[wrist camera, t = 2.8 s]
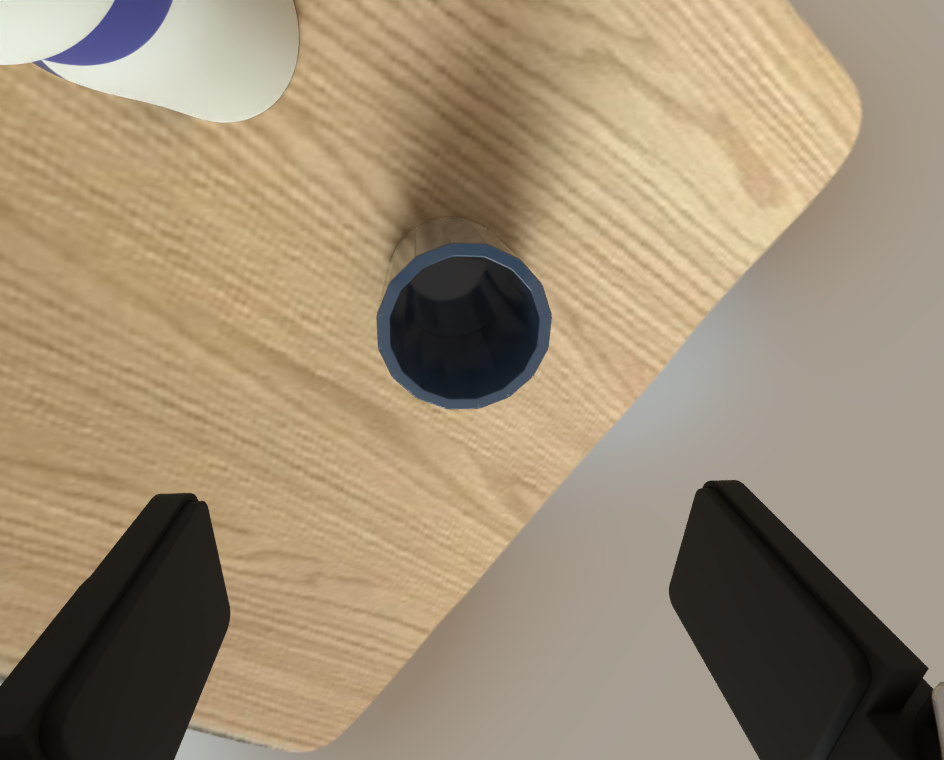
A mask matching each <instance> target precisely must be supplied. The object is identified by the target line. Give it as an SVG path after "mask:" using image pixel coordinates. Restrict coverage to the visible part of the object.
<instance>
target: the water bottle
mask: <svg viewBox="0 0 944 760" xmlns="http://www.w3.org/2000/svg"><path fill="white" fill-rule="evenodd" d="M298 49H299V29H298V20H297V14H296V10H295V6H294V2H293V0H0V65H12V64H23V63H29V62H32V63H34V64H36V65H37V66H39V67H41V68H42V69H44V70H46V71H48V72H50V73H52V74H54V75H56V76H58V77H61V78H63V79H66V80H68V81H71V82H74V83H76V84H79V85H82V86H85V87H87V88H90V89H94V90H97V91H101V92H105V93H109V94H113V95H117V96H121V97H125V98H130V99H134V100H139V101H143V102H147V103H151V104H155V105H159V106H162V107H165V108H169V109H172V110H175V111H178V112H181V113H184V114H187V115H190V116H193V117H196V118H199V119H202V120H206V121H212V122H221V123H229V122H238V121H243V120H247V119H250V118H252V117H255V116H257V115H259V114H261V113H262V112H264V111H266V110H267V109H268V108H270V107H271V106H272V105H273V104H274V103H275V102H276V101H277V100H278V99H279V98H280V97H281V95H282V94H283V92H284V91H285V89H286V88H287V86H288V84H289V82H290V80H291V78H292V75H293V73H294V70H295V66H296V62H297V57H298Z"/></svg>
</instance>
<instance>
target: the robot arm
mask: <svg viewBox="0 0 944 760" xmlns="http://www.w3.org/2000/svg"><path fill="white" fill-rule="evenodd" d="M669 595H670V600H671V604H672V606H673V608H674V610H675V611H676V613H677V615H678V616H679V618H680V620H681V622H682V624H683V625H684V627H685V629H686V631H687V632H688V634H689V636H690V637H691V639H692V641H693V643H694V645H695V646H696V648H697V650H698V652H699V653H700V655H701V657H702V659H703V660H704V662H705V664H706V666H707V667H708V669H709V671H710V673H711V675H712V676H713V678H714V680H715V681H716V683H717V685H718V687H719V689H720V690H721V692H722V694H723V696H724V697H725V699H726V701H727V702H728V704H729V706H730V708H731V710H732V711H733V713H734V715H735V717H736V718H737V720H738V722H739V724H740V725H741V727H742V729H743V731H744V732H745V734H746V736H747V737H748V739H749V741H750V743H751V745H752V746H753V748H754V750H755V752H756V753H757V755H758V757H759V759H760V760H944V682H940V683H939V684H938V685H937V686H936V687H935V688H934V689H933V688H932V687H930V685H929V684H928V683H927V682H926V681H925V680H924V679H923V676H924V675H925V673H926V672H927V670H928V667H927V666H926V665H925V664H924V663H923V662H922V661H921V660H920V659H919V658H918V657H917V656H916V655H915V654H914V653H913V652H912V651H911V650H910V649H909V648H908V647H907V646H905V645H904V643H903V642H902V641H900V640H899V638H898V637H897V636H896V635H895V634H894V633H892V631H891V630H890V629H888V627H887V626H886V625H885V624H884V623H882V621H881V620H879V619H878V618H877V617H876V615H875V614H873V613H872V612H871V611H870V610H869V609H868V608H867V607H866V606H865V605H864V604H863V603H862V602H861V601H860V600H859V599H858V598H857V597H856V596H855V595H854V594H853V593H852V592H851V591H850V590H849V589H848V588H847V587H846V586H845V585H844V584H843V583H842V582H841V581H840V580H839V579H838V578H837V577H836V576H835V575H834V574H833V573H832V572H831V571H830V570H829V569H828V568H827V567H826V566H825V565H824V564H823V563H822V562H821V561H820V560H819V559H818V558H817V557H816V556H815V555H814V554H813V553H812V552H811V551H810V550H809V549H808V548H807V547H806V546H805V545H804V544H803V543H802V542H801V541H800V540H799V539H798V538H797V537H796V536H795V535H794V534H793V533H792V532H791V531H790V530H789V529H788V528H787V527H786V526H785V525H784V524H783V523H782V522H781V521H780V520H779V519H778V518H777V517H776V516H775V515H774V514H773V513H772V512H771V511H770V510H769V509H768V508H767V507H766V506H765V505H764V504H763V503H762V502H761V501H760V500H759V499H758V498H757V497H756V496H755V495H754V494H753V493H752V492H751V491H750V490H749V489H748V488H747V487H746V486H745V485H744V484H743V483H741V482H740V481H737V480H721V481H708V482H706V483H705V484H704V486H703V488H701V489H698V490H697V492H696V494H695V497H694V501H693V504H692V508H691V511H690V515H689V518H688V522H687V525H686V529H685V532H684V536H683V540H682V543H681V547H680V550H679V554H678V557H677V561H676V565H675V568H674V572H673V575H672V579H671V582H670V586H669ZM229 621H230V606H229V601H228V596H227V592H226V587H225V583H224V578H223V574H222V569H221V564H220V560H219V555H218V551H217V546H216V542H215V537H214V532H213V528H212V523H211V519H210V514H209V510H208V506H207V504H206V502H204V501H198V499H197V497H196V496H195V494H192V493H177V494H158V495H155V496H154V497H153V498H152V499H151V500H150V502H149V503H148V504H147V505H146V507H145V508H144V509H143V510H142V512H141V513H140V514H139V515H138V517H137V518H136V519H135V520H134V522H133V523H132V524H131V526H130V527H129V528H128V529H127V531H126V532H125V533H124V534H123V536H122V537H121V538H120V539H119V541H118V542H117V543H116V545H115V546H114V547H113V548H112V550H111V551H110V552H109V553H108V555H107V556H106V557H105V558H104V560H103V561H102V562H101V563H100V565H99V566H98V567H97V569H96V570H95V571H94V572H93V574H92V575H91V576H90V577H89V578H88V579H87V580H86V581H85V582H84V583H83V584H82V585H81V586H80V587H79V588H78V589H77V591H76V592H75V593H74V594H73V596H72V597H71V598H70V599H69V601H68V602H67V603H66V604H65V606H64V607H63V608H62V609H61V611H60V612H59V613H58V614H57V616H56V617H55V618H54V619H53V621H52V622H51V623H50V624H49V626H48V627H47V628H46V629H45V631H44V632H43V633H42V635H41V636H40V637H39V638H38V640H37V641H36V642H35V643H34V645H33V646H32V647H31V648H30V650H29V651H28V652H27V653H26V655H25V656H24V657H23V658H22V660H21V661H20V662H19V663H18V665H17V666H16V667H15V668H14V670H13V671H12V672H11V673H10V675H9V676H8V677H7V678H6V680H5V681H4V682H3V683H2V685H1V686H0V760H174V759H175V756H176V754H177V751H178V749H179V746H180V744H181V741H182V739H183V737H184V734H185V732H186V729H187V727H188V724H189V722H190V720H191V717H192V715H193V712H194V710H195V707H196V705H197V702H198V700H199V698H200V695H201V693H202V690H203V688H204V685H205V683H206V680H207V678H208V676H209V673H210V671H211V668H212V666H213V663H214V661H215V658H216V656H217V654H218V651H219V649H220V646H221V644H222V641H223V639H224V636H225V634H226V632H227V629H228V625H229Z"/></svg>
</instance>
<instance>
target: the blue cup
mask: <svg viewBox="0 0 944 760" xmlns="http://www.w3.org/2000/svg"><path fill="white" fill-rule="evenodd" d="M551 315H552V314H551V311H550V308H549V305H548V301H547V298H546V295H545V291H544V288H543V285H542V284H541V282H540V281H539V280H538V279H537V278H536V277H535V275H534V274H533V273H532V272H531V271H530V270H529V269H528V267H527V266H526V265H525V264H524V263H523V262H522V261H521V259H520V258H519V257H518V256H516V255H515V254H514V253H513V252H512V251H511V250H510V249H509V248H508V247H507V246H506V245H505V244H504V243H503V242H502V241H501V240H500V239H499V238H498V237H497V236H496V235H495V234H494V233H493V232H492V231H490V230H489V229H487V228H485V227H484V226H482V225H480V224H478V223H476V222H474V221H471V220H468V219H464V218H458V217H442V218H436V219H433V220H430V221H427V222H425V223H423V224H421V225H419V226H417V227H416V228H414V229H413V230H411V231H410V232H409V233H408V234H407V235H406V236H405V237H404V238H403V239H402V240H401V242H400V243H399V244H398V246H397V247H396V249H395V251H394V253H393V256H392V258H391V261H390V264H389V267H388V269H387V273H386V277H385V281H384V286H383V290H382V294H381V299H380V303H379V307H378V312H377V338H378V348H379V352H380V354H381V356H382V358H383V360H384V362H385V364H386V366H387V368H388V370H389V372H390V374H391V376H392V377H393V379H395V380H396V381H397V382H398V383H399V384H400V385H401V386H403V387H404V388H405V389H406V390H407V391H408V392H410V393H411V394H412V395H413V396H414V397H415V398H417V399H419V400H422V401H425V402H428V403H430V404H433V405H436V406H439V407H442V408H445V409H478V408H482V407H485V406H487V405H490V404H493V403H495V402H498V401H501V400H503V399H506V398H508V397H510V396H511V395H512V394H513V393H514V392H516V391H517V390H518V389H519V388H520V387H521V386H523V385H524V384H525V383H526V382H527V381H528V380H530V379H531V378H532V376H534V374H535V372H536V370H537V368H538V367H539V365H540V363H541V361H542V359H543V357H544V356H545V354H546V352H547V350H548V347H549V338H550V329H551V320H552V316H551Z"/></svg>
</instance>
